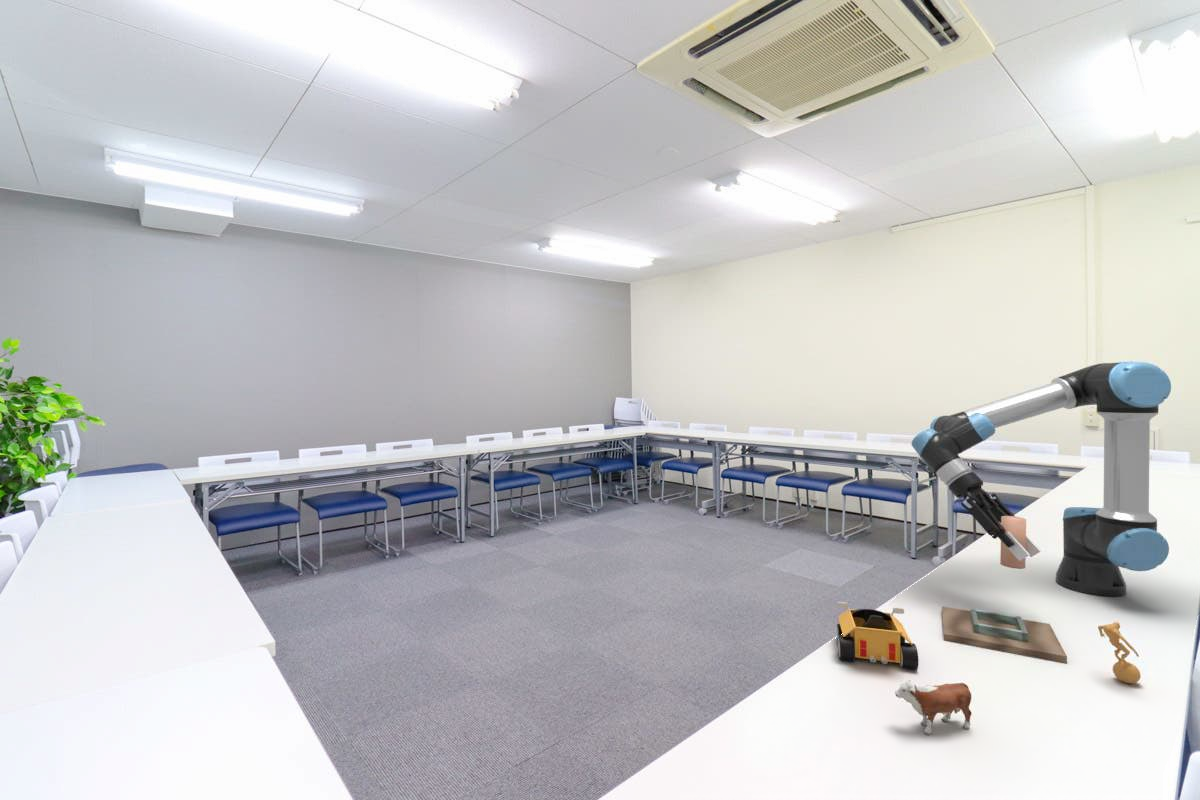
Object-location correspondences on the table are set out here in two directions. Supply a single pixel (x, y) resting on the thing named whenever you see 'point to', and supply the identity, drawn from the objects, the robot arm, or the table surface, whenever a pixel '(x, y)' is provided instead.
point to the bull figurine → (937, 701)
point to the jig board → (1002, 633)
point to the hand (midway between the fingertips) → (1030, 555)
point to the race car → (874, 637)
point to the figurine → (1121, 668)
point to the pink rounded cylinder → (1019, 533)
